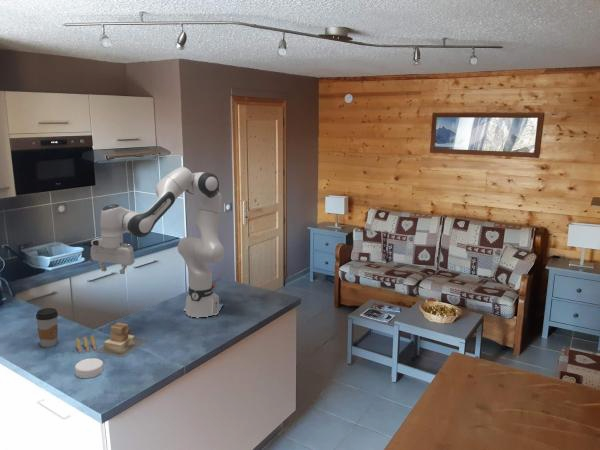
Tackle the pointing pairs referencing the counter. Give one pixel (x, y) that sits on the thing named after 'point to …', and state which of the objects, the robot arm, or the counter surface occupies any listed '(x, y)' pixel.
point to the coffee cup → (47, 326)
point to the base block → (119, 345)
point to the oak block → (119, 332)
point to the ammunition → (85, 344)
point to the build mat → (137, 344)
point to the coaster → (89, 368)
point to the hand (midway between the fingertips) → (113, 272)
